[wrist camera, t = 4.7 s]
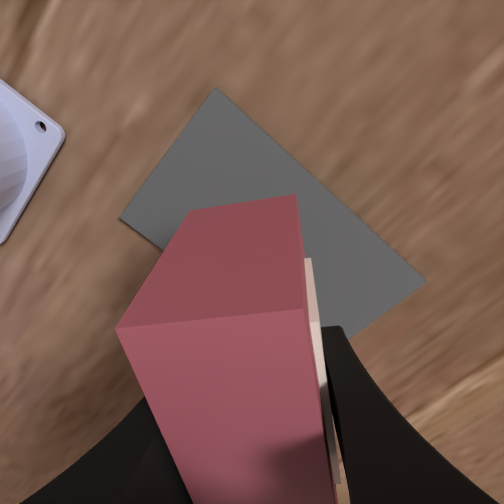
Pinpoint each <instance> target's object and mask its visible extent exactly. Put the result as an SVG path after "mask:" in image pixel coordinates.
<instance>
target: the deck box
mask: <svg viewBox="0 0 504 504" xmlns="http://www.w3.org/2000/svg"><path fill="white" fill-rule="evenodd" d="M115 331H116V333H117V335H118V337H119V340H120V342H121V344H122V346H123V349H124V351H125V353H126V355H127V357H128V360H129V362H130V364H131V366H132V368H133V371H134V373H135V375H136V377H137V380H138V382H139V384H140V386H141V388H142V391H143V393H144V395H145V397H146V400H147V402H148V404H149V406H150V408H151V411H152V413H153V415H154V417H155V419H156V422H157V424H158V426H159V428H160V431H161V433H162V435H163V437H164V439H165V442H166V444H167V446H168V448H169V451H170V453H171V455H172V457H173V459H174V462H175V464H176V466H177V468H178V470H179V473H180V475H181V477H182V479H183V482H184V484H185V486H186V488H187V490H188V493H189V495H190V497H191V499H192V502H193V504H338V501H337V492H336V484H341V478H340V470H339V462H338V454H337V446H336V438H335V430H334V422H333V415H332V410H331V403H330V395H329V388H328V381H327V374H326V367H325V360H324V353H323V345H322V336H321V326H320V319H319V312H318V305H317V297H316V290H315V283H314V276H313V268H312V261H311V258H305V251H304V244H303V237H302V231H301V224H300V217H299V210H298V203H297V196H296V194H292V195H286V196H279V197H273V198H266V199H260V200H254V201H247V202H241V203H234V204H228V205H222V206H215V207H209V208H203V209H196V210H190V211H189V212H188V214H187V215H186V217H185V219H184V220H183V222H182V223H181V225H180V226H179V228H178V230H177V231H176V233H175V234H174V236H173V237H172V239H171V241H170V242H169V244H168V245H167V247H166V248H165V250H164V252H163V253H162V255H161V256H160V258H159V259H158V261H157V263H156V264H155V266H154V267H153V269H152V270H151V272H150V274H149V275H148V277H147V278H146V280H145V281H144V283H143V285H142V286H141V288H140V289H139V291H138V292H137V294H136V296H135V297H134V299H133V300H132V302H131V303H130V305H129V307H128V308H127V310H126V311H125V313H124V314H123V316H122V318H121V319H120V321H119V322H118V324H117V325H116V327H115Z"/></svg>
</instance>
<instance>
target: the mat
mask: <svg viewBox="0 0 504 504" xmlns="http://www.w3.org/2000/svg"><path fill="white" fill-rule="evenodd" d="M292 194H296V196H297V203H298V210H299V217H300V224H301V231H302V237H303V244H304V251H305V258H311V261H312V268H313V276H314V283H315V290H316V297H317V305H318V312H319V319H320V326H321V327H327V326H337V325H339V326H341V327H342V328H343V330H344V333H345V335H346V337H347V339H350V338H351V337H352V336H354V335H355V334H356V333H358V332H359V331H361V330H362V329H363V328H365V327H366V326H367V325H369V324H370V323H371V322H373V321H374V320H376V319H377V318H378V317H380V316H381V315H382V314H384V313H385V312H387V311H388V310H389V309H391V308H392V307H393V306H395V305H396V304H397V303H399V302H400V301H402V300H403V299H404V298H406V297H407V296H408V295H410V294H411V293H413V292H414V291H415V290H417V289H418V288H419V287H421V286H422V285H423V284H425V283H426V280H425V278H424V277H423V276H422V275H421V274H419V273H418V272H417V271H416V270H415V269H414V268H413V267H412V266H411V265H410V264H409V263H407V262H406V261H405V260H404V259H403V258H402V257H401V256H400V255H399V254H398V253H397V252H395V251H394V250H393V249H392V248H391V247H390V246H389V245H388V244H387V243H386V242H385V241H384V240H382V239H381V238H380V237H379V236H378V235H377V234H376V233H375V232H374V231H373V230H372V229H370V228H369V227H368V226H367V225H366V224H365V223H364V222H363V221H362V220H361V219H360V218H358V217H357V216H356V215H355V214H354V213H353V212H352V211H351V210H350V209H349V208H348V207H346V206H345V205H344V204H343V203H342V202H341V201H340V200H339V199H338V198H337V197H336V196H334V195H333V194H332V193H331V192H330V191H329V190H328V189H327V188H326V187H325V186H324V185H323V184H321V183H320V182H319V181H318V180H317V179H316V178H315V177H314V176H313V175H312V174H311V173H309V172H308V171H307V170H306V169H305V168H304V167H303V166H302V165H301V164H300V163H299V162H297V161H296V160H295V159H294V158H293V157H292V156H291V155H290V154H289V153H288V152H287V151H285V150H284V149H283V148H282V147H281V146H280V145H279V144H278V143H277V142H276V141H275V140H273V139H272V138H271V137H270V136H269V135H268V134H267V133H266V132H265V131H264V130H263V129H262V128H260V127H259V126H258V125H257V124H256V123H255V122H254V121H253V120H252V119H251V118H250V117H248V116H247V115H246V114H245V113H244V112H243V111H242V110H241V109H240V108H239V107H238V106H236V105H235V104H234V103H233V102H232V101H231V100H230V99H229V98H228V97H227V96H226V95H224V94H223V93H222V92H221V91H220V90H219V89H218V88H217V87H215V88H214V89H213V91H212V92H211V94H210V95H209V96H208V98H207V99H206V100H205V102H204V103H203V104H202V106H201V107H200V108H199V110H198V111H197V112H196V114H195V115H194V116H193V118H192V119H191V121H190V122H189V123H188V125H187V126H186V127H185V129H184V130H183V131H182V133H181V134H180V135H179V137H178V138H177V139H176V141H175V142H174V144H173V145H172V146H171V148H170V149H169V150H168V152H167V153H166V154H165V156H164V157H163V158H162V160H161V161H160V162H159V164H158V165H157V166H156V168H155V169H154V171H153V172H152V173H151V175H150V176H149V177H148V179H147V180H146V181H145V183H144V184H143V185H142V187H141V188H140V189H139V191H138V192H137V193H136V195H135V196H134V198H133V199H132V200H131V202H130V203H129V204H128V206H127V207H126V208H125V210H124V211H123V212H122V214H121V215H120V216H119V218H120V219H122V220H123V221H124V222H126V223H127V224H128V225H130V226H131V227H132V228H134V229H135V230H136V231H138V232H139V233H141V234H142V235H143V236H145V237H146V238H147V239H149V240H150V241H151V242H153V243H154V244H155V245H157V246H158V247H159V248H161V249H162V250H163V251H164V250H165V248H166V247H167V245H168V244H169V242H170V241H171V239H172V237H173V236H174V234H175V233H176V231H177V230H178V228H179V226H180V225H181V223H182V222H183V220H184V219H185V217H186V215H187V214H188V212H189V211H190V210H196V209H203V208H209V207H215V206H222V205H228V204H234V203H241V202H247V201H254V200H260V199H266V198H273V197H279V196H286V195H292Z"/></svg>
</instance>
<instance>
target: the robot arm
mask: <svg viewBox="0 0 504 504" xmlns="http://www.w3.org/2000/svg"><path fill="white" fill-rule="evenodd" d="M40 122H43V123H44V124H45V126H46V131H44V130H42V128H41V127H40ZM64 139H65V132H64V130H63V128H62V127H61V126H60V125H59V124H58V123H56V122H55V121H54V120H52V119H51V118H50V117H49V116H47V115H46V114H45V113H43V112H42V111H41V110H40V109H38V108H37V107H36V106H34V105H33V104H32V103H31V102H29V101H28V100H27V99H25V98H24V97H23V96H22V95H20V94H19V93H18V92H17V91H15V90H14V89H13V88H11V87H10V86H9V85H8V84H6V83H5V82H4V81H2V80H1V79H0V244H1V243H2V242H4V241H5V240H6V239H7V238H8V236H9V234H10V233H11V231H12V229H13V227H14V226H15V224H16V222H17V221H18V219H19V217H20V215H21V214H22V212H23V210H24V209H25V207H26V205H27V203H28V202H29V200H30V198H31V197H32V195H33V193H34V191H35V190H36V188H37V186H38V185H39V183H40V181H41V179H42V178H43V176H44V174H45V173H46V171H47V169H48V167H49V166H50V164H51V162H52V160H53V159H54V157H55V155H56V154H57V152H58V150H59V148H60V147H61V145H62V143H63V142H64ZM321 336H322V345H323V353H324V360H325V367H326V374H327V381H328V388H329V395H330V403H331V410H332V415H333V420H334V424H335V429H336V433H337V438H338V442H339V447H340V451H341V456H342V460H343V465H344V469H345V474H346V479H347V484H348V490H349V496H350V503H351V504H499V503H498V502H497V501H495V500H494V499H493V498H491V497H490V496H489V495H488V494H486V493H485V492H484V491H483V490H481V489H480V488H479V487H478V486H476V485H475V484H474V483H473V482H472V481H470V480H469V479H468V478H467V477H466V476H465V475H463V474H462V473H461V472H460V471H459V470H458V469H456V468H455V467H454V466H453V465H452V464H451V463H450V462H449V461H448V460H446V459H445V458H444V457H443V456H442V455H441V454H440V453H439V452H438V451H437V450H436V449H435V448H434V447H433V446H431V445H430V444H429V443H428V442H427V441H426V440H425V439H424V438H423V437H422V436H421V435H420V434H419V433H418V432H417V431H416V430H415V429H414V428H413V427H412V426H411V425H410V424H409V423H408V421H407V420H406V419H405V418H404V417H403V416H402V415H401V414H400V413H399V412H398V410H397V409H396V408H395V407H394V406H393V405H392V403H391V402H390V401H389V400H388V399H387V397H386V396H385V395H384V394H383V392H382V391H381V390H380V388H379V387H378V386H377V385H376V383H375V382H374V381H373V379H372V378H371V376H370V375H369V374H368V372H367V371H366V369H365V368H364V366H363V365H362V363H361V362H360V360H359V359H358V357H357V355H356V354H355V352H354V350H353V349H352V347H351V345H350V343H349V341H348V339H347V337H346V335H345V333H344V330H343V328H342V327H341V326H339V325H337V326H327V327H321ZM20 504H193V502H192V499H191V497H190V495H189V493H188V490H187V488H186V486H185V484H184V482H183V479H182V477H181V475H180V473H179V470H178V468H177V466H176V464H175V462H174V459H173V457H172V455H171V453H170V451H169V448H168V446H167V444H166V442H165V439H164V437H163V435H162V433H161V431H160V428H159V426H158V424H157V422H156V419H155V417H154V415H153V413H152V411H151V408H150V406H149V404H148V402H147V400H146V397H145V396H144V397H143V398H142V399H141V401H140V402H139V403H138V404H137V405H136V406H135V407H134V408H133V410H132V411H131V412H130V413H129V414H128V415H127V416H126V417H125V418H124V419H123V420H122V421H121V422H120V423H119V424H118V425H117V426H116V427H115V428H114V429H113V430H112V431H111V432H110V433H108V434H107V435H106V436H105V437H104V438H103V439H102V440H101V441H100V442H99V443H97V444H96V445H95V446H94V447H93V448H92V449H90V450H89V451H88V452H87V453H86V454H85V455H83V456H82V457H81V458H80V459H79V460H78V461H76V462H75V463H74V464H73V465H72V466H70V467H69V468H68V469H66V470H65V471H64V472H63V473H61V474H60V475H59V476H57V477H56V478H55V479H53V480H52V481H51V482H49V483H48V484H47V485H45V486H44V487H43V488H41V489H40V490H38V491H37V492H36V493H34V494H33V495H31V496H30V497H29V498H27V499H26V500H24V501H23V502H21V503H20Z"/></svg>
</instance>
